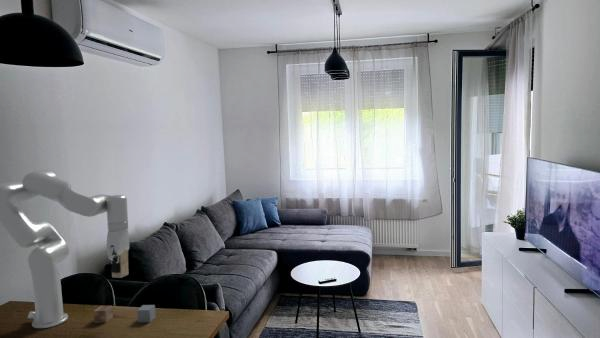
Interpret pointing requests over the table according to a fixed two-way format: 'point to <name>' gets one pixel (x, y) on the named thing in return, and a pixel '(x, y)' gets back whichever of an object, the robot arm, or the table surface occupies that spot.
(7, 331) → the table surface
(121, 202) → the robot arm
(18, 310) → the table surface
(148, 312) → the grey cube
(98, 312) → the tan cube
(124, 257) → the box
